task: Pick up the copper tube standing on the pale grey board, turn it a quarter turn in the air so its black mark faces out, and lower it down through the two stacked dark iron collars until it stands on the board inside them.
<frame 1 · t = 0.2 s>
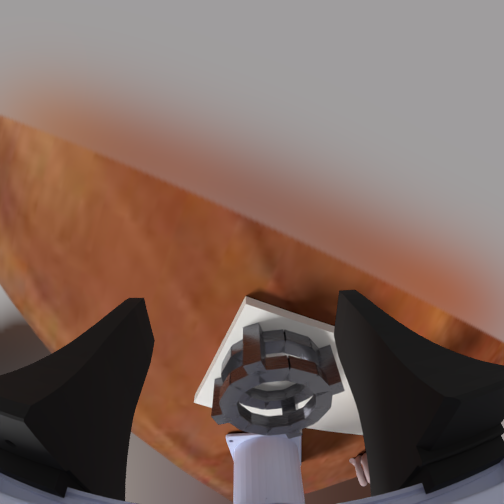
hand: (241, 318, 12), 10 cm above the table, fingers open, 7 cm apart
coil: (411, 431, 33), on the table
collar stand: (272, 360, 26), resting on base board
base board: (322, 381, 27), on the table
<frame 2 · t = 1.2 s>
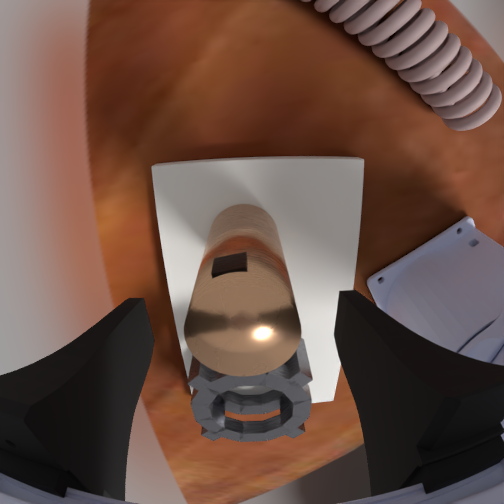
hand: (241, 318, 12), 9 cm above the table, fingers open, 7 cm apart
coil: (361, 19, 15), on the table
tube: (243, 236, 19), point 1 cm above the table, touching base board
collar stand: (250, 363, 24), resting on base board
base board: (262, 305, 22), on the table
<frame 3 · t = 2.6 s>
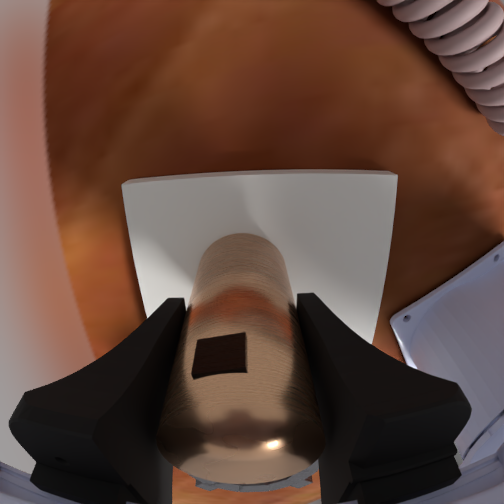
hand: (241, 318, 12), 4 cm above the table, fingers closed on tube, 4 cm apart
tube: (242, 274, 15), point 1 cm above the table, touching base board, gripper
collar stand: (250, 407, 20), resting on base board
base board: (264, 349, 18), on the table
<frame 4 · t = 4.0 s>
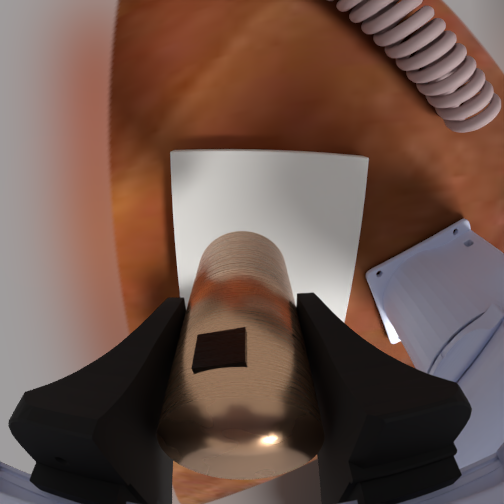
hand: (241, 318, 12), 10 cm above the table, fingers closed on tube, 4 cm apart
coil: (378, 23, 16), on the table
tube: (242, 272, 15), point 7 cm above the table, touching gripper
base board: (265, 292, 23), on the table
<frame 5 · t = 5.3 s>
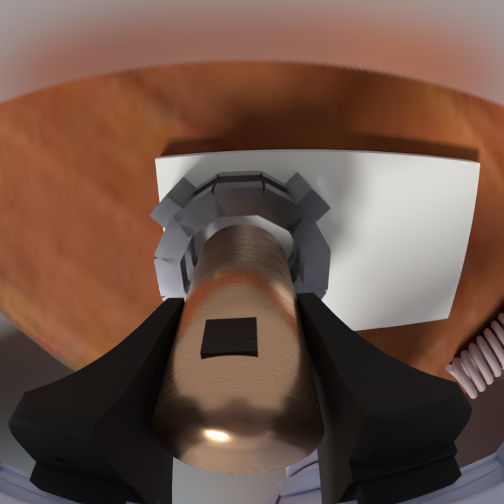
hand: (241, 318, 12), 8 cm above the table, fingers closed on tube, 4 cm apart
tube: (242, 265, 15), point 5 cm above the table, touching gripper
collar stand: (243, 234, 19), resting on base board
base board: (332, 246, 20), on the table
when the fingers open (6 cm above the table, at t = 6.1 s): tube drops 2 cm, resting on base board.
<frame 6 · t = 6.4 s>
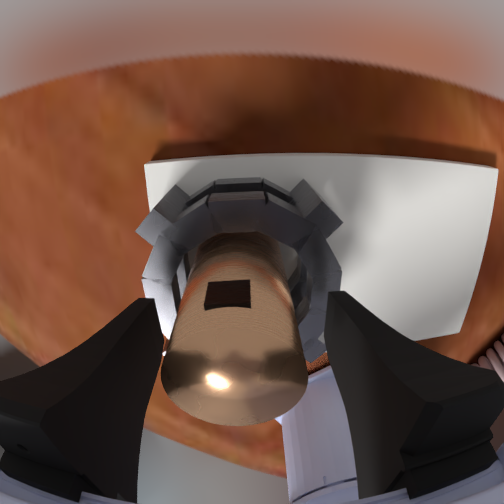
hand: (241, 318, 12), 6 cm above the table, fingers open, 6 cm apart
tube: (239, 249, 16), point 1 cm above the table, touching base board
collar stand: (242, 247, 17), resting on base board
base board: (341, 260, 18), on the table
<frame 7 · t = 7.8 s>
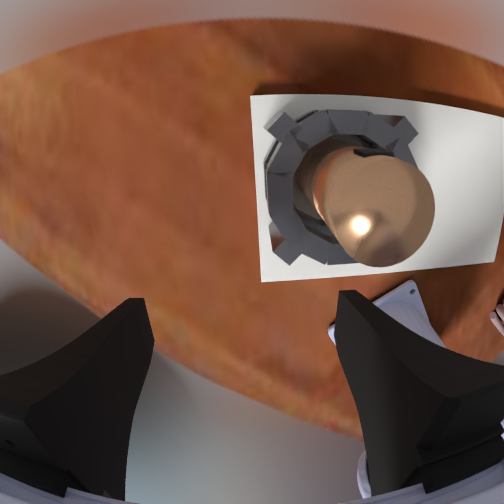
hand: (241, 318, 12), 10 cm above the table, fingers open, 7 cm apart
tube: (327, 170, 19), point 1 cm above the table, touching base board
collar stand: (325, 172, 20), resting on base board
base board: (401, 187, 20), on the table
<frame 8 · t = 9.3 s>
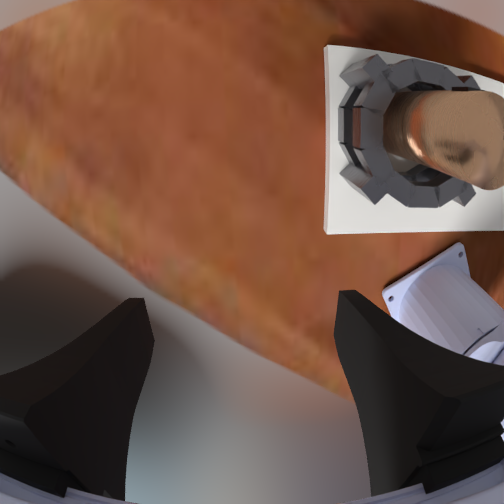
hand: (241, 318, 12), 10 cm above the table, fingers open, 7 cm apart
tube: (395, 123, 17), point 1 cm above the table, touching base board
collar stand: (390, 127, 18), resting on base board
base board: (454, 149, 19), on the table
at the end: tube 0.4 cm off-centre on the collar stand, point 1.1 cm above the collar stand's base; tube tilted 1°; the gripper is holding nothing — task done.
